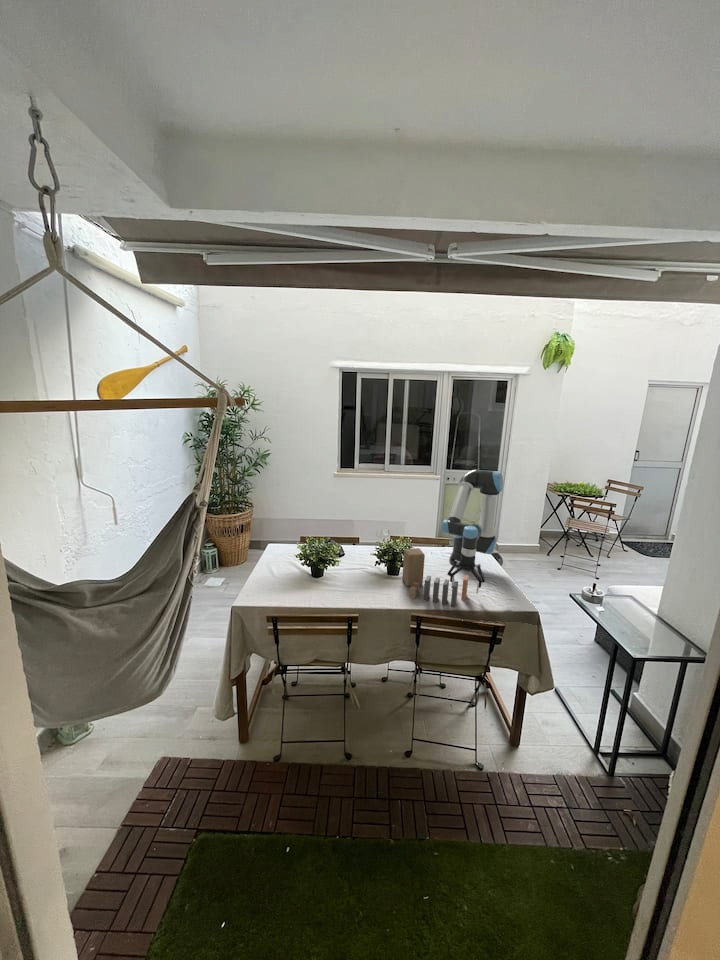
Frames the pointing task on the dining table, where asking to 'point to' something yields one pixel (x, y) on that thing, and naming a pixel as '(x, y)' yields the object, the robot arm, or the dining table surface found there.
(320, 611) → the dining table surface
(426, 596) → the domino
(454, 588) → the domino
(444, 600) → the domino
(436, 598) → the domino
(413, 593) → the end stop
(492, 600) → the dining table surface
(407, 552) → the block
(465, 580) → the domino
